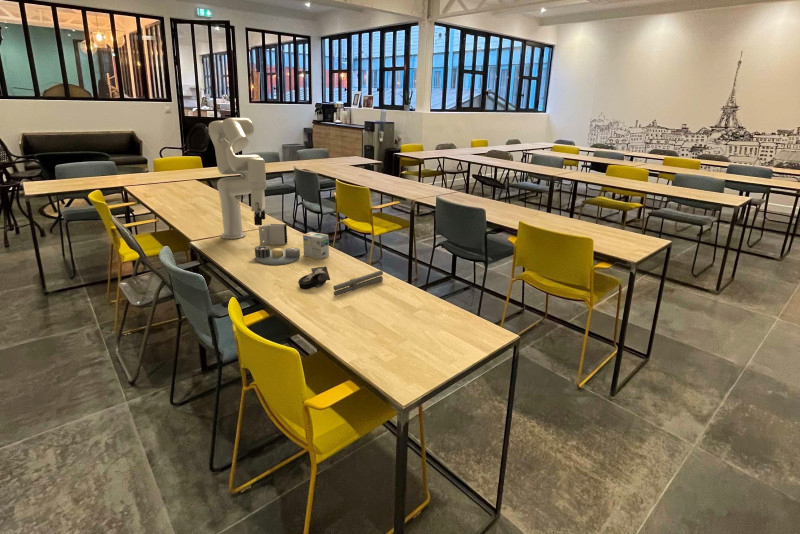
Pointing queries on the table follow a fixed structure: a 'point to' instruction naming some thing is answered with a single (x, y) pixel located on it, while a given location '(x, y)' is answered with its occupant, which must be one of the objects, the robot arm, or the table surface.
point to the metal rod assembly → (355, 283)
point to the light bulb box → (316, 245)
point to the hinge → (273, 234)
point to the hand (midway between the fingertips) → (260, 222)
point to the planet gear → (262, 251)
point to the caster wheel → (314, 278)
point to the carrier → (281, 256)
